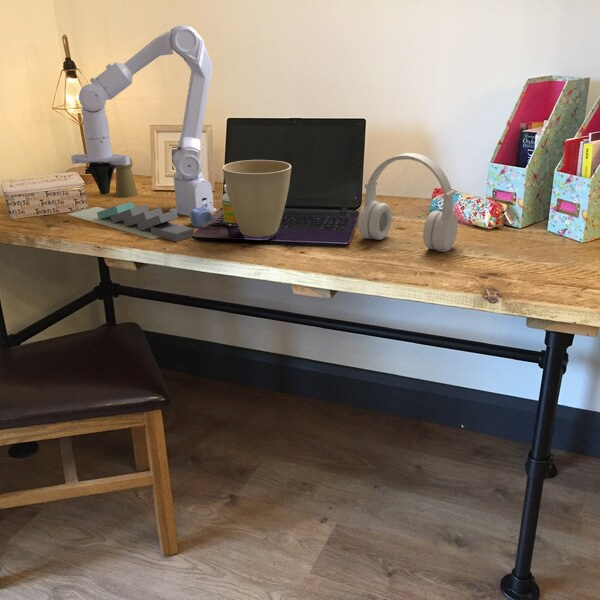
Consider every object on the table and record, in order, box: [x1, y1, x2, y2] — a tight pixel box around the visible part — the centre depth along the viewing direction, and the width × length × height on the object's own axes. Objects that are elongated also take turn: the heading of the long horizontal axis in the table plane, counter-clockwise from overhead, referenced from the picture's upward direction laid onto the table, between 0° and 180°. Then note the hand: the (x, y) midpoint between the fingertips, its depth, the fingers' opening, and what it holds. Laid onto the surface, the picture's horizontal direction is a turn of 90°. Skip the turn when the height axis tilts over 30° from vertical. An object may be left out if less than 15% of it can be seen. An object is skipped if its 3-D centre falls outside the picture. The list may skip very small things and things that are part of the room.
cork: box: [114, 157, 138, 199], centre depth 184 cm, size 6×6×11 cm
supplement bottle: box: [221, 183, 237, 223], centre depth 156 cm, size 5×5×10 cm
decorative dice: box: [189, 208, 214, 228], centre depth 157 cm, size 4×4×4 cm
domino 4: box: [137, 210, 179, 231], centre depth 152 cm, size 2×5×9 cm
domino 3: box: [123, 207, 164, 227], centre depth 155 cm, size 2×5×9 cm
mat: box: [66, 206, 159, 240], centre depth 161 cm, size 34×9×1 cm, turn 50°
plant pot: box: [222, 159, 292, 237], centre depth 146 cm, size 15×15×16 cm
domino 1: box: [97, 201, 136, 220], centre depth 162 cm, size 2×5×9 cm
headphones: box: [357, 152, 459, 253], centre depth 139 cm, size 20×8×19 cm, turn 56°
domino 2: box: [110, 204, 150, 223], centre depth 158 cm, size 2×5×9 cm
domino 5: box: [151, 221, 195, 242], centre depth 150 cm, size 2×5×9 cm
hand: (105, 193), depth 162 cm, fingers closed
